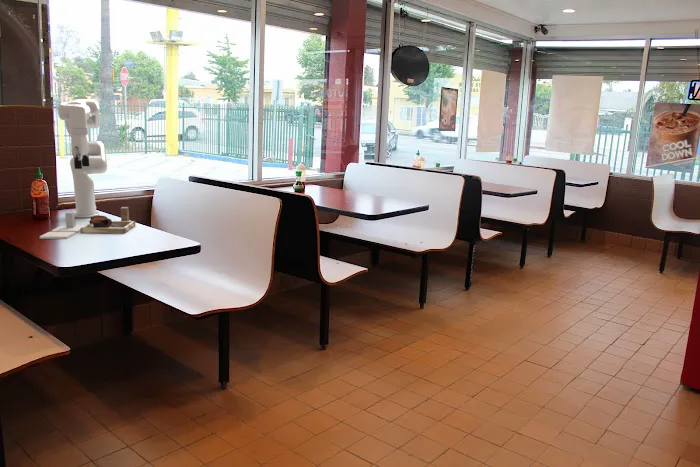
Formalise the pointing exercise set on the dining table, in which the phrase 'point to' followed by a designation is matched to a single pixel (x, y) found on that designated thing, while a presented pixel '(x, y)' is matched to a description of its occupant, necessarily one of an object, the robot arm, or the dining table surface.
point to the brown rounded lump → (100, 222)
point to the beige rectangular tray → (123, 222)
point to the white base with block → (63, 229)
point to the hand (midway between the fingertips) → (82, 167)
